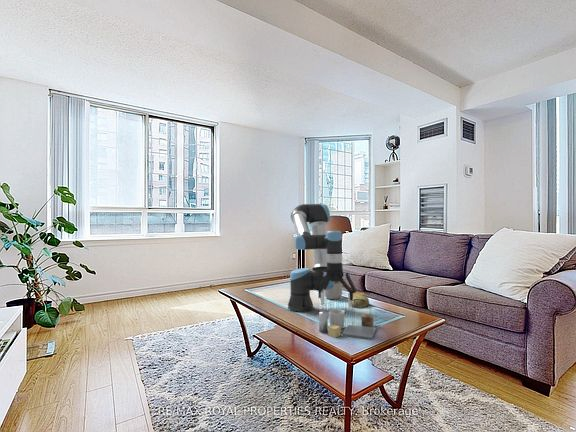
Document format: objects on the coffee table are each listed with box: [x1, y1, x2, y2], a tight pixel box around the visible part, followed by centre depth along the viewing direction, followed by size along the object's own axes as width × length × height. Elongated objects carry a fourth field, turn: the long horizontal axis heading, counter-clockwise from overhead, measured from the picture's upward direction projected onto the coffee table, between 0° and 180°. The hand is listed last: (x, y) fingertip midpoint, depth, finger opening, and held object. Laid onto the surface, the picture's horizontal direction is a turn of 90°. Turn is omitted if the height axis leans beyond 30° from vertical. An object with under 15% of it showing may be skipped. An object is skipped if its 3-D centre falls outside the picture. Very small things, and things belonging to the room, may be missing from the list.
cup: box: [327, 308, 346, 330], centre depth 147 cm, size 11×8×8 cm
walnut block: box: [360, 313, 375, 327], centre depth 148 cm, size 5×5×5 cm
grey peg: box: [318, 310, 329, 334], centre depth 141 cm, size 4×4×9 cm
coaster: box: [341, 324, 377, 341], centre depth 138 cm, size 13×13×1 cm
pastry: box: [350, 291, 370, 308], centre depth 184 cm, size 14×12×8 cm
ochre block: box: [327, 325, 342, 339], centre depth 136 cm, size 4×4×4 cm
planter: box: [323, 281, 343, 300], centre depth 203 cm, size 12×12×11 cm
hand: (335, 306), depth 147 cm, fingers open, 13 cm apart
